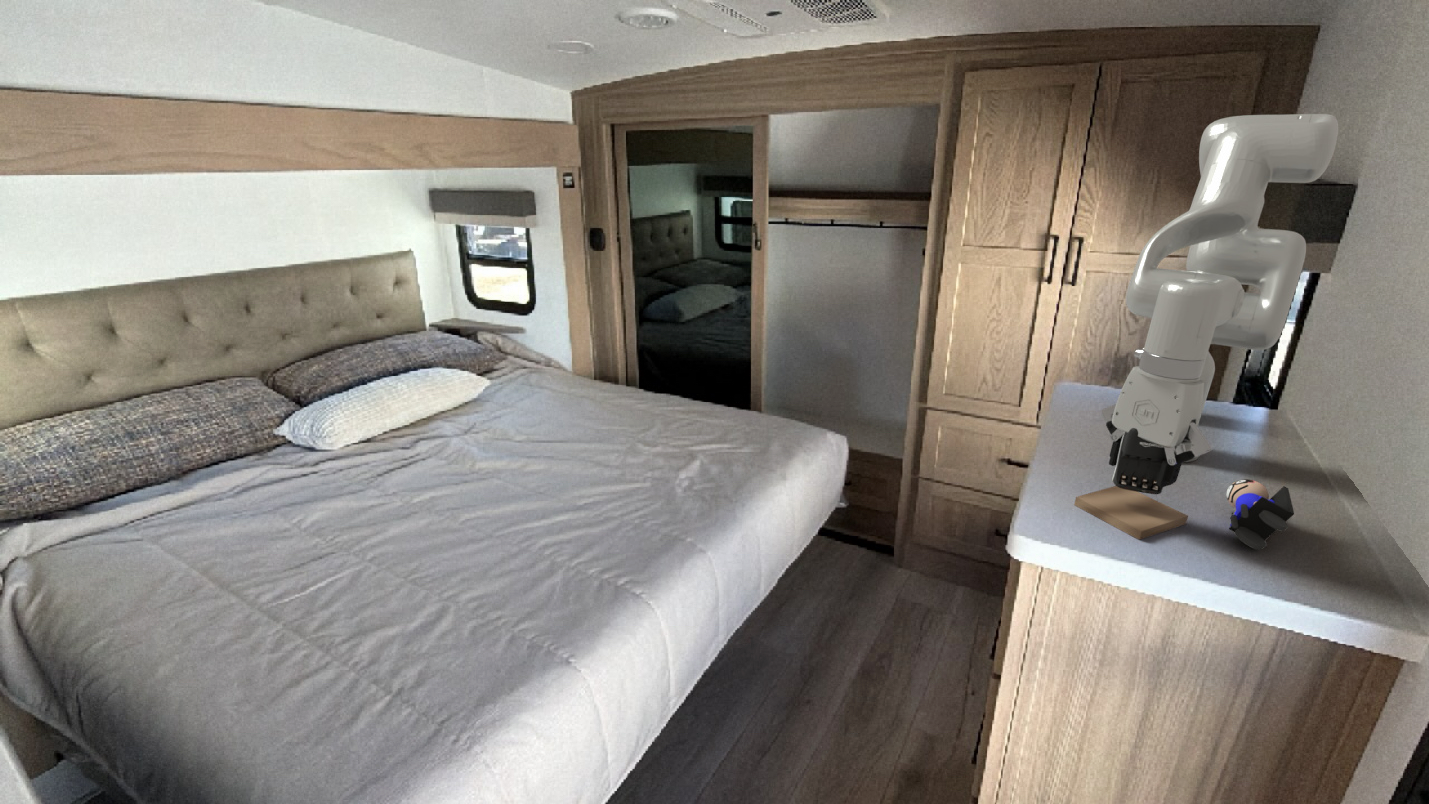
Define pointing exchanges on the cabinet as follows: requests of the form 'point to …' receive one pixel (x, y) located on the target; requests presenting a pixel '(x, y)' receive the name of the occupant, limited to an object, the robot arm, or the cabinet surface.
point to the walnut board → (1131, 511)
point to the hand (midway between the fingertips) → (1140, 473)
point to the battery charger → (1138, 464)
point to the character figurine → (1258, 512)
